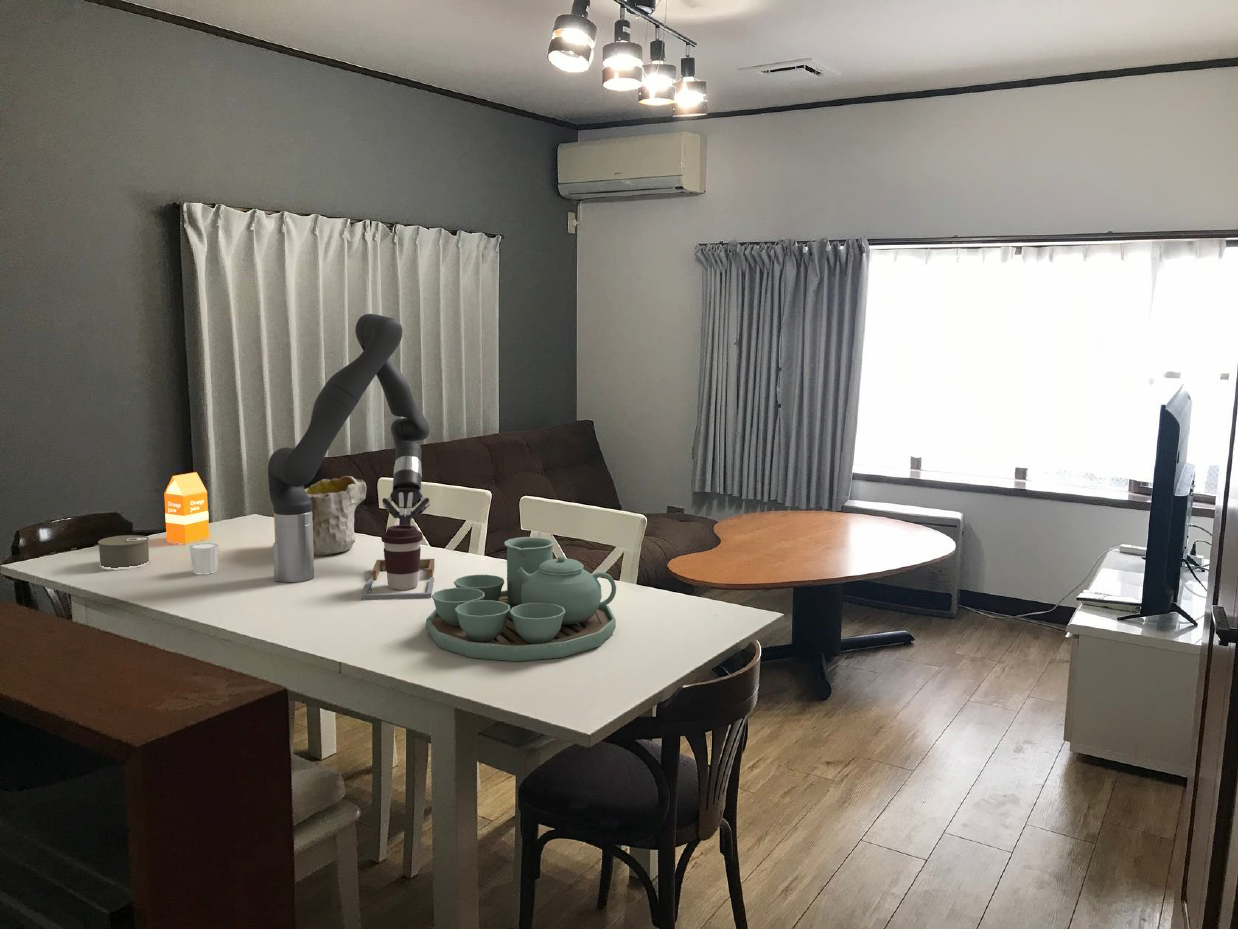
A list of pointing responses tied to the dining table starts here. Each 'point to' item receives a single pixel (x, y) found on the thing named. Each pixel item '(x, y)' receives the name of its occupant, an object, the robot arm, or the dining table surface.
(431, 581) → the grey bay
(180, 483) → the orange juice
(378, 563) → the cup holder
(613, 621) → the tea set
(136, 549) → the can
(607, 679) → the dining table surface
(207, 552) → the shot glass
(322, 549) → the ceramic vessel
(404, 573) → the coffee cup
